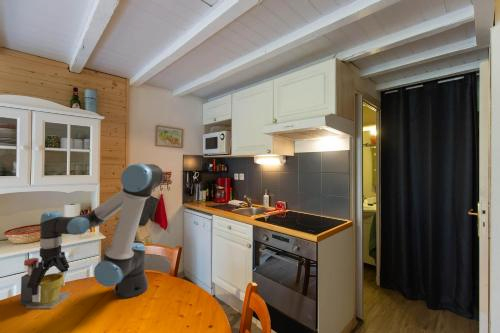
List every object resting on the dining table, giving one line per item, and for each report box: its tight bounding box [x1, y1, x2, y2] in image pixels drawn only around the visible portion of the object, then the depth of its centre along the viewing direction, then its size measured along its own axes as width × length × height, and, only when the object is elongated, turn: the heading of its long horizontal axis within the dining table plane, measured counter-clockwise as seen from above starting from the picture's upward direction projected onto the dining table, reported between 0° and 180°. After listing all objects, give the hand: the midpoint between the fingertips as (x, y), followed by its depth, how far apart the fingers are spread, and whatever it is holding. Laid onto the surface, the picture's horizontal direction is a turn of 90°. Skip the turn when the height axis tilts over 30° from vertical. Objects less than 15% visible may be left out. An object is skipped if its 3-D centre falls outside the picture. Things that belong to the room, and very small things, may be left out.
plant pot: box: [36, 272, 64, 304], centre depth 107 cm, size 10×10×10 cm
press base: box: [18, 273, 71, 310], centre depth 108 cm, size 16×11×12 cm, turn 91°
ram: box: [23, 257, 40, 276], centre depth 108 cm, size 5×5×13 cm
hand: (49, 293), depth 108 cm, fingers open, 13 cm apart
